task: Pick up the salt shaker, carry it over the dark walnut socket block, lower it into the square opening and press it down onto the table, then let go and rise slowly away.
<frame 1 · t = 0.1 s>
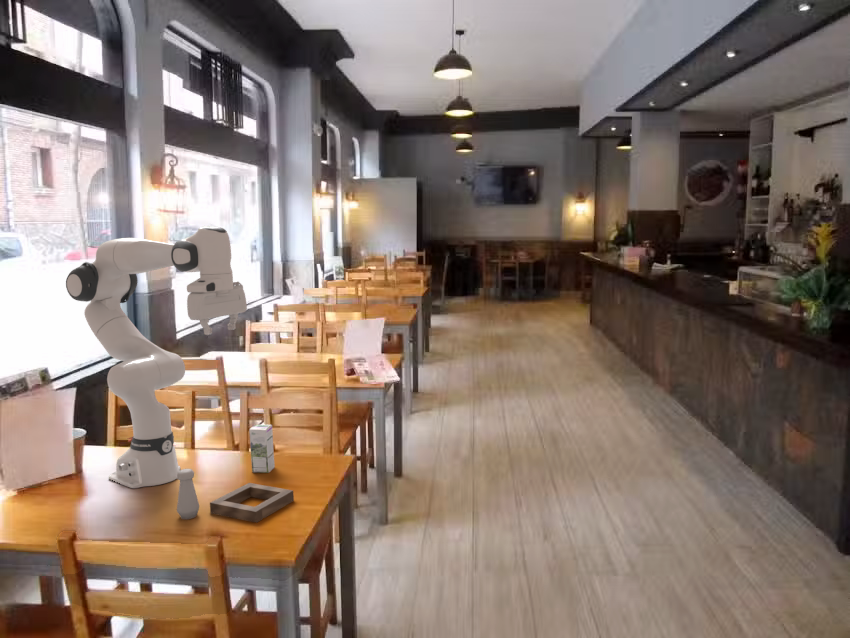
hand: (220, 332, 196), 48 cm above the table, tool pointing down, fingers open, 8 cm apart
syrup box: (263, 470, 221), on the table
walnut socket: (252, 506, 191), on the table
salt shaker: (188, 517, 186), on the table
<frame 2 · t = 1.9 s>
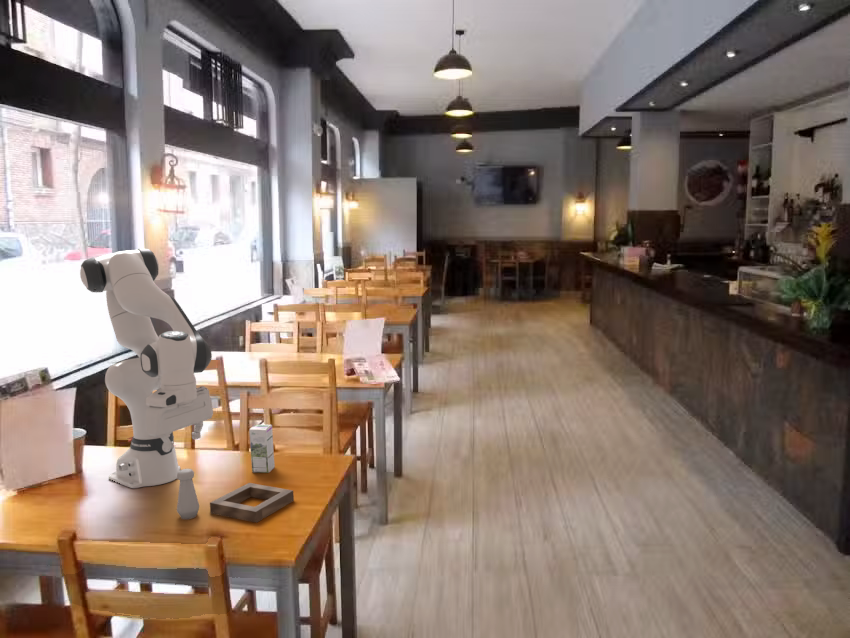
hand: (183, 443, 183), 20 cm above the table, tool pointing down, fingers open, 8 cm apart
nothing on the table moved.
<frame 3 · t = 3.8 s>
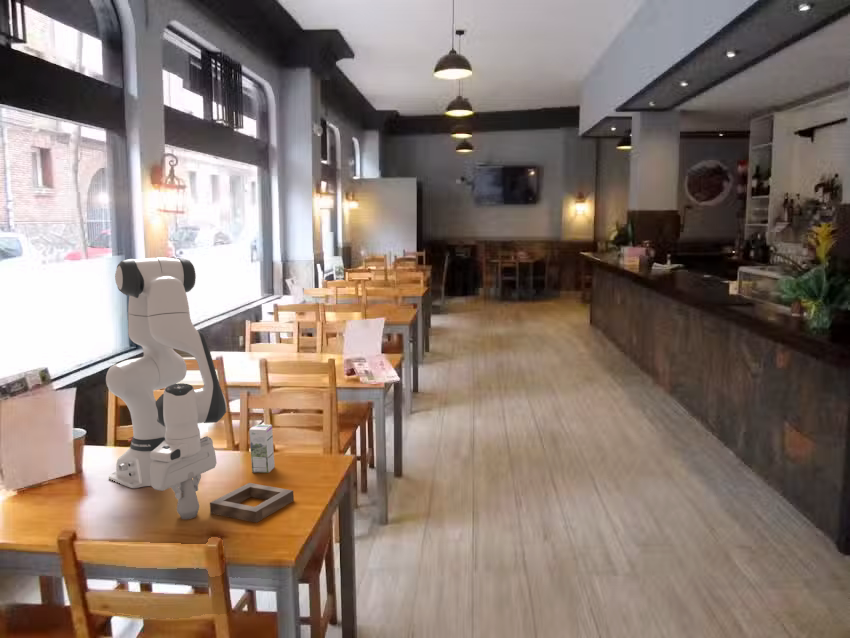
hand: (187, 494, 185), 6 cm above the table, tool pointing down, fingers closed on salt shaker, 4 cm apart
salt shaker: (188, 517, 186), on the table, touching gripper
everything else where it was.
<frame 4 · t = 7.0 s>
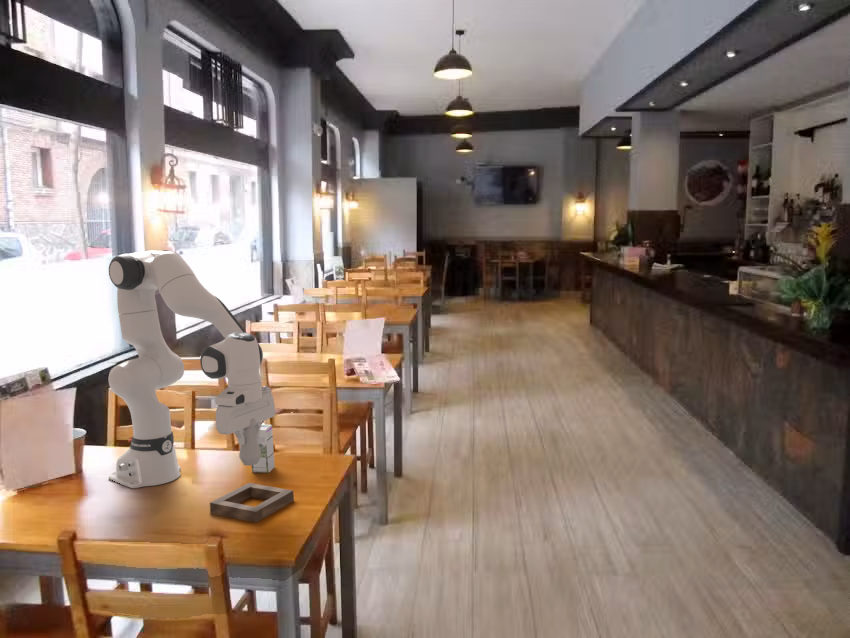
hand: (248, 441, 189), 19 cm above the table, tool pointing down, fingers closed on salt shaker, 4 cm apart
salt shaker: (250, 463, 189), point 12 cm above the table, touching gripper
everything else where it was.
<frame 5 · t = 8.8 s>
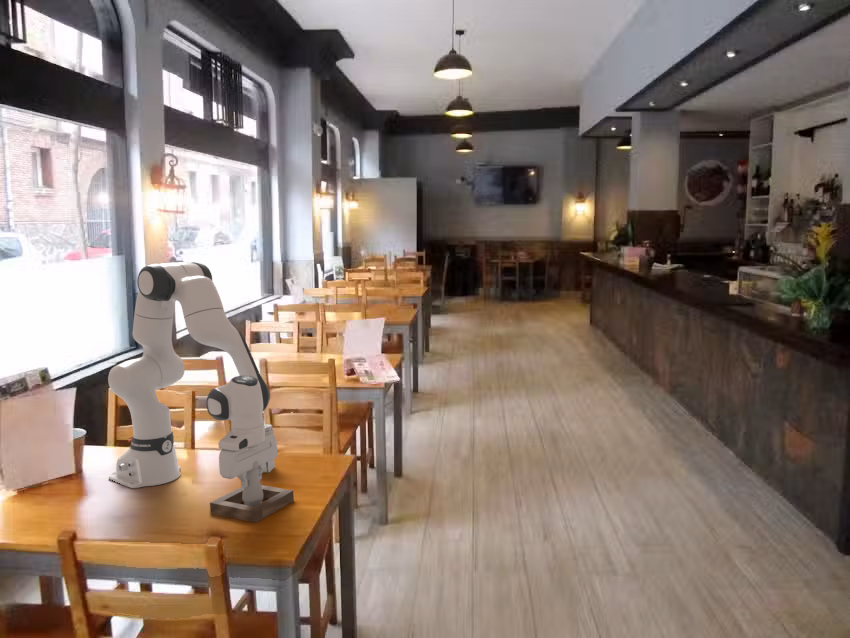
hand: (251, 483, 190), 7 cm above the table, tool pointing down, fingers closed on salt shaker, 4 cm apart
salt shaker: (253, 505, 191), resting in walnut socket, touching gripper
everything else where it was.
when the fingers open (6 cm above the table, at t = 10.1 s): salt shaker stays where it is, resting in walnut socket.
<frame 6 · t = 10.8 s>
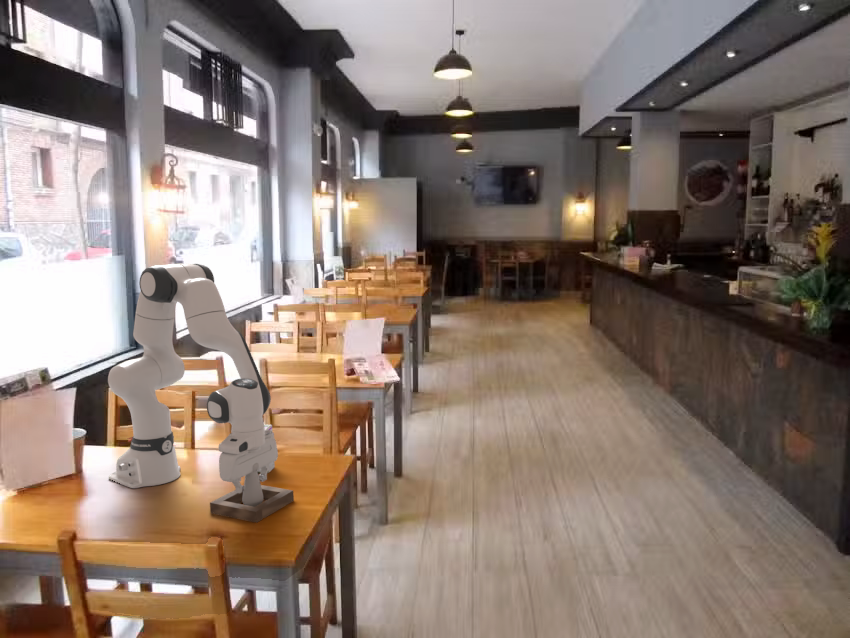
hand: (251, 486, 190), 6 cm above the table, tool pointing down, fingers open, 8 cm apart
salt shaker: (253, 507, 191), resting in walnut socket
everything else where it was.
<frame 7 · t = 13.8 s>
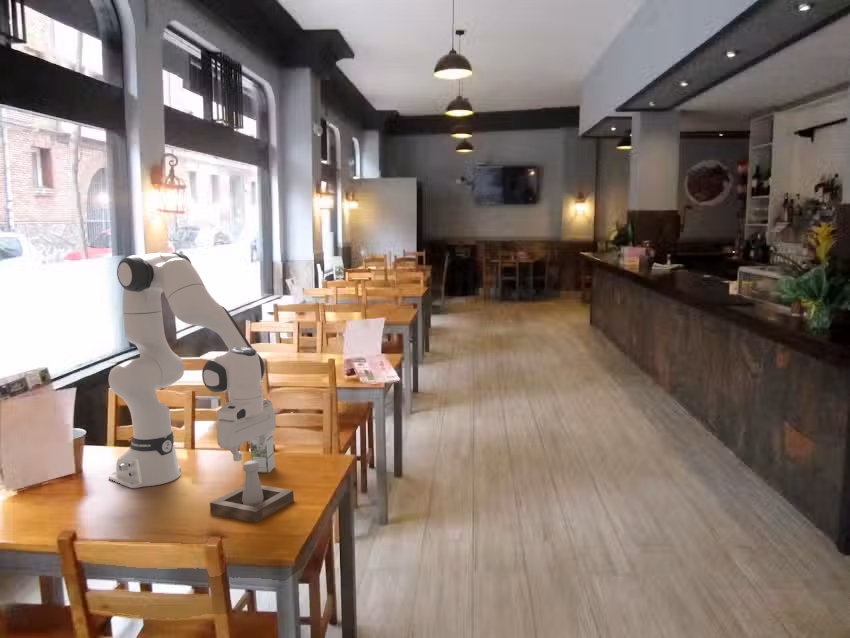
hand: (249, 455, 189), 15 cm above the table, tool pointing down, fingers open, 8 cm apart
nothing on the table moved.
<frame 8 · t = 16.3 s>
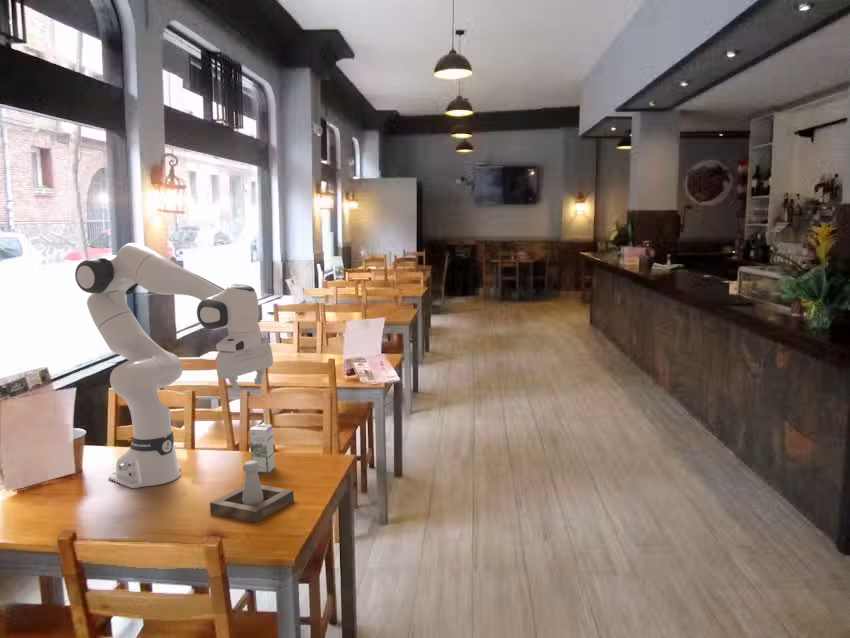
hand: (247, 387, 199), 31 cm above the table, tool pointing down, fingers open, 8 cm apart
nothing on the table moved.
at the end: salt shaker 0.2 cm off-centre on the walnut socket, point 0.0 cm above the walnut socket's base; salt shaker tilted 0°; the gripper is holding nothing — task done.
